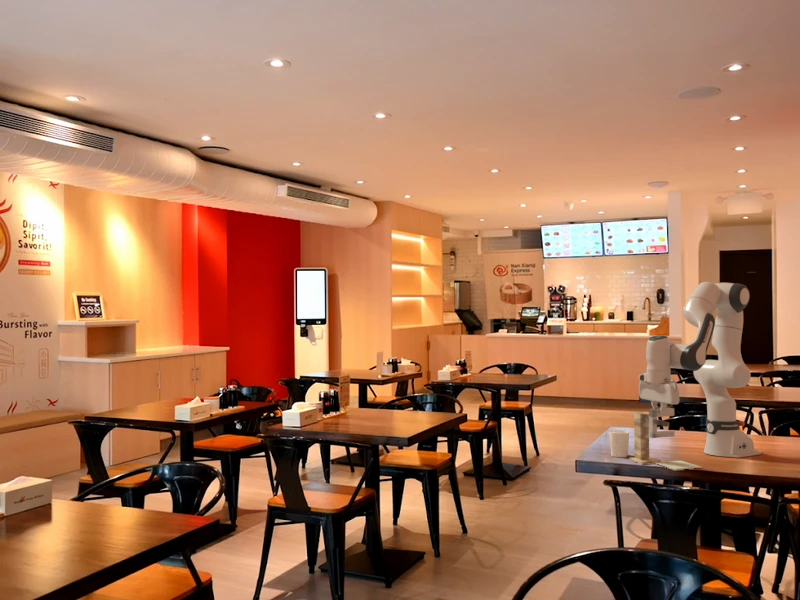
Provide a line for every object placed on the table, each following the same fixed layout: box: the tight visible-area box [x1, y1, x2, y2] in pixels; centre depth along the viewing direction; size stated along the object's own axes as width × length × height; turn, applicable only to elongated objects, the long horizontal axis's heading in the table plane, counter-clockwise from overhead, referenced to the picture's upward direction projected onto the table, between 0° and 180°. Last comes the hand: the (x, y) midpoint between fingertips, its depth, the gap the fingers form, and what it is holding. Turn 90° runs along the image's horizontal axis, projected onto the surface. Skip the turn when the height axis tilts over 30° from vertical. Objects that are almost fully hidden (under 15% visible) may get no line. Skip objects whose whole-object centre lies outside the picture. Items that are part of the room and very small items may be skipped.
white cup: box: [608, 429, 630, 458], centre depth 297 cm, size 8×8×10 cm
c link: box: [648, 407, 675, 439], centre depth 277 cm, size 10×2×11 cm, turn 107°
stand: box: [628, 412, 670, 465], centre depth 281 cm, size 9×18×19 cm, turn 17°
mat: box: [655, 460, 703, 472], centre depth 277 cm, size 12×12×1 cm
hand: (659, 413), depth 277 cm, fingers closed on c link, 2 cm apart
